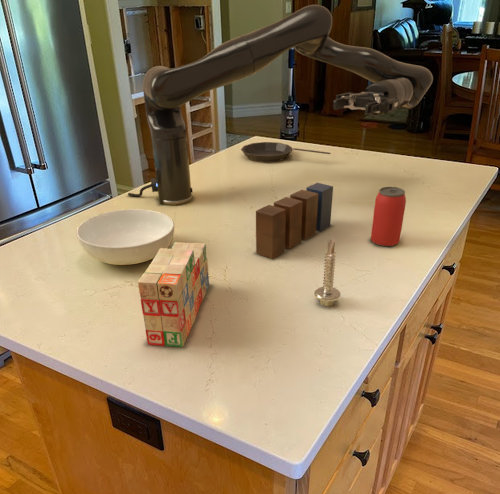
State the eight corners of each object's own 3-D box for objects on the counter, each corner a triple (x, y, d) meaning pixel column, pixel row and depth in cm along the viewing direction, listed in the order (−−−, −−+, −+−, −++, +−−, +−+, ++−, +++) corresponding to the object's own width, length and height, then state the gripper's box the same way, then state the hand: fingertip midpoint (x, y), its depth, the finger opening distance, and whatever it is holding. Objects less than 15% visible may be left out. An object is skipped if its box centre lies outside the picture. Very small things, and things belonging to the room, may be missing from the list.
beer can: (402, 238, 120) (410, 187, 113) (396, 249, 115) (404, 197, 109) (374, 233, 123) (380, 184, 116) (367, 244, 118) (373, 193, 111)
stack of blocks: (179, 283, 104) (173, 226, 97) (209, 285, 103) (205, 228, 96) (147, 345, 87) (136, 280, 80) (183, 347, 86) (176, 283, 79)
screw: (344, 306, 96) (321, 312, 94) (331, 294, 100) (309, 299, 98) (351, 241, 88) (326, 247, 87) (336, 231, 92) (312, 236, 91)
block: (314, 221, 129) (317, 182, 124) (330, 226, 127) (333, 186, 121) (304, 227, 127) (306, 187, 121) (320, 231, 124) (322, 191, 118)
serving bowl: (95, 285, 104) (88, 254, 100) (73, 247, 119) (67, 219, 115) (191, 262, 112) (188, 233, 108) (159, 229, 127) (155, 202, 123)
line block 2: (285, 237, 122) (286, 196, 116) (301, 242, 119) (302, 201, 113) (273, 244, 119) (273, 202, 113) (289, 249, 116) (290, 207, 111)
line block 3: (300, 229, 125) (302, 189, 120) (316, 234, 123) (318, 193, 117) (289, 235, 123) (290, 194, 117) (304, 240, 120) (306, 199, 114)
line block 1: (268, 246, 118) (269, 204, 112) (284, 251, 115) (285, 209, 110) (256, 253, 115) (255, 210, 109) (272, 259, 112) (272, 215, 107)
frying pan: (255, 147, 187) (255, 136, 185) (338, 157, 175) (339, 146, 173) (231, 160, 175) (231, 148, 172) (319, 172, 162) (320, 160, 160)
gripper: (360, 77, 131) (325, 86, 121) (413, 83, 123) (380, 93, 113) (357, 109, 135) (323, 120, 125) (408, 116, 127) (375, 128, 117)
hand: (350, 107), depth 119 cm, fingers open, 8 cm apart
